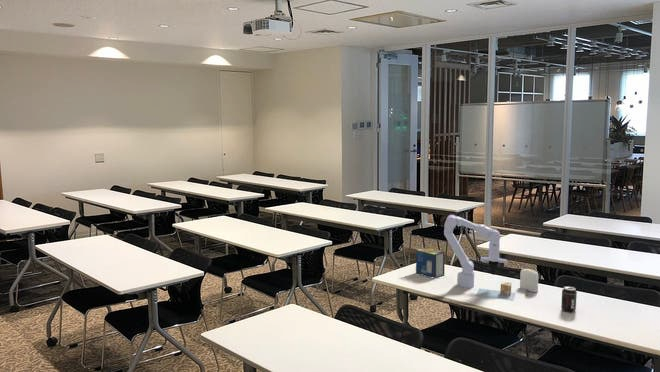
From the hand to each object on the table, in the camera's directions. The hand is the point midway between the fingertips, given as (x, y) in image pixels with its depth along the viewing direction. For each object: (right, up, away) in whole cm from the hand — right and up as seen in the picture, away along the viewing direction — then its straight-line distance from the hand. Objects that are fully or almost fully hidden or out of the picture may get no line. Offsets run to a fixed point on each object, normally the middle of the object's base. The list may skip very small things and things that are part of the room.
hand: (493, 274), depth 302 cm
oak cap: (+4, -9, -10) cm, 14 cm away
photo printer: (+21, -10, +1) cm, 23 cm away
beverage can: (+28, -14, -32) cm, 45 cm away
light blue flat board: (-2, -11, -10) cm, 15 cm away
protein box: (-30, -6, +33) cm, 45 cm away
